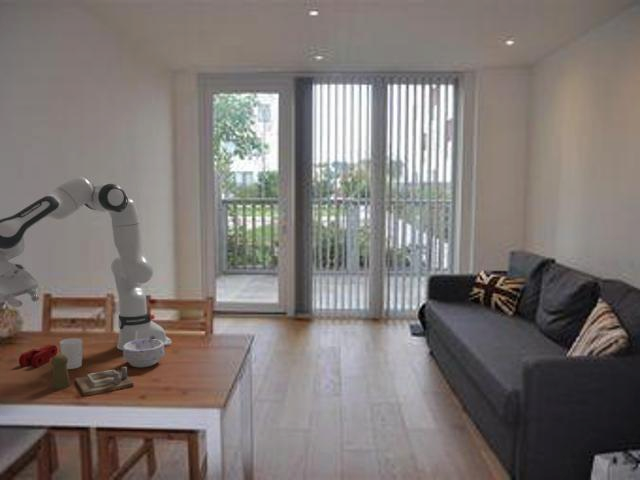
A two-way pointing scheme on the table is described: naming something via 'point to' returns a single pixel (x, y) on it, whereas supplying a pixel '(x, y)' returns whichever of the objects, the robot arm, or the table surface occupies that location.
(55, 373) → the olive brown peg
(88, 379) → the peg board
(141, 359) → the paper bowls
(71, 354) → the white cup
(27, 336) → the table surface
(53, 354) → the mechanical linkage
